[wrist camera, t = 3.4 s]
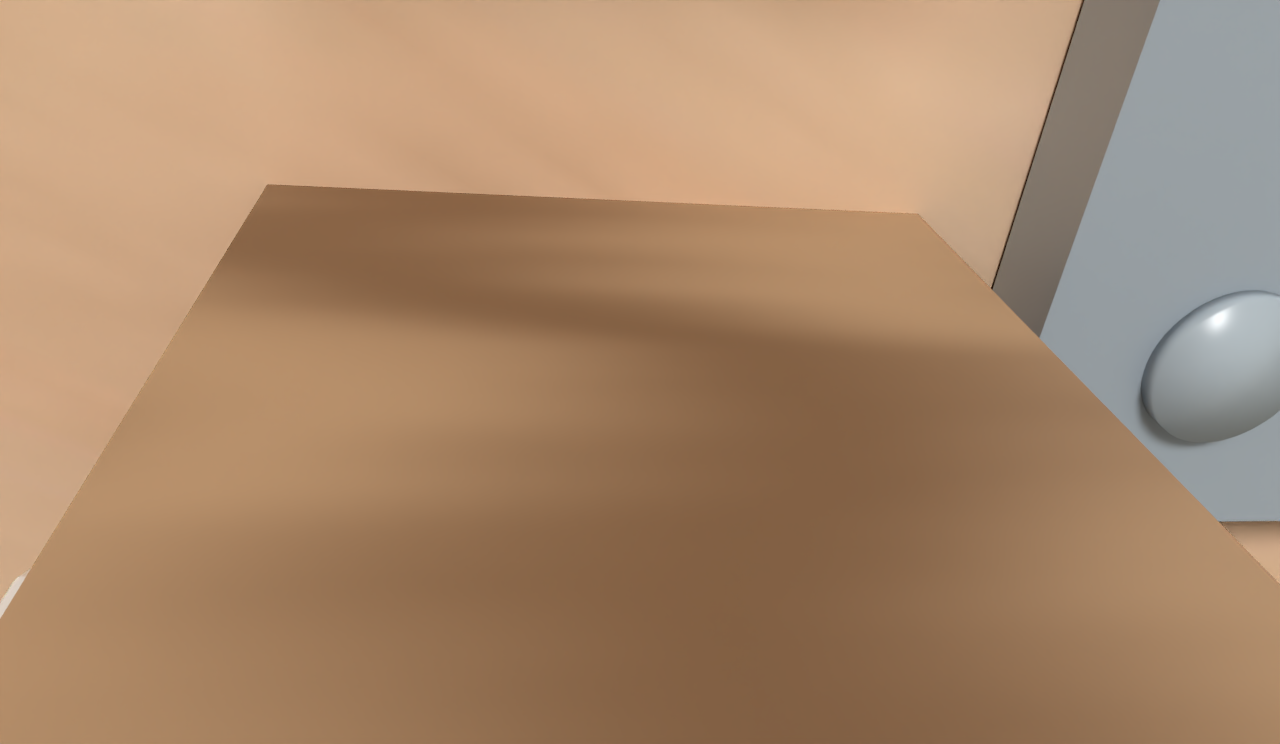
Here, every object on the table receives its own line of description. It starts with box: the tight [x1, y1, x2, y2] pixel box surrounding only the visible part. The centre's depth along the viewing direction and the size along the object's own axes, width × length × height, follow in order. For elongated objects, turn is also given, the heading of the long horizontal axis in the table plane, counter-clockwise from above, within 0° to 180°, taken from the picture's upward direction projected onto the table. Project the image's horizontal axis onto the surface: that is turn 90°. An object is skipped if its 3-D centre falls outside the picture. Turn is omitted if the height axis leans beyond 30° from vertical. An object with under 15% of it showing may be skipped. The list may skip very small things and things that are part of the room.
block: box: [0, 185, 1280, 744], centre depth 8 cm, size 6×6×6 cm
